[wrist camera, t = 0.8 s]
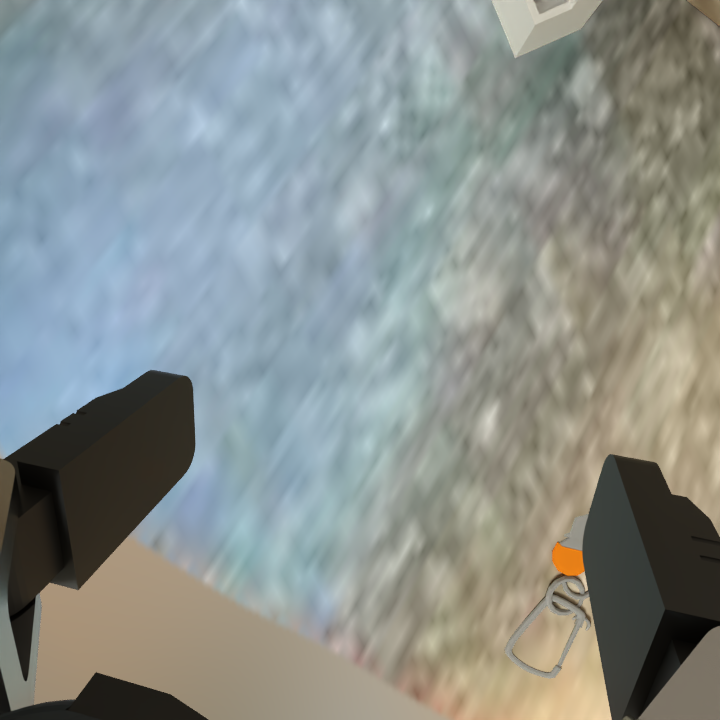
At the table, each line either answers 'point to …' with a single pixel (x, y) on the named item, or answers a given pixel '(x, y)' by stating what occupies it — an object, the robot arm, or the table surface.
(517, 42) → the white angled block
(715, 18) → the wooden step block
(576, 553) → the key chain
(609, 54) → the table surface
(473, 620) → the table surface
